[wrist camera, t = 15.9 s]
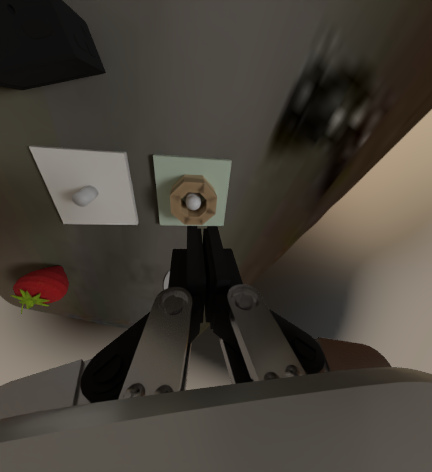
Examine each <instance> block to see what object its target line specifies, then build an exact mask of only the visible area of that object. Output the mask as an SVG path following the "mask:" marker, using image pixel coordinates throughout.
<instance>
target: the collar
mask: <svg viewBox="0 0 432 472" xmlns="http://www.w3.org/2000/svg"><path fill="white" fill-rule="evenodd" d="M188 192H191V193H200V194H201V195H202V196H203V197H204V198H205V201H203V202H202V203H201V205H200V207H199V208H198V209H197V210H190V209H189V208H188V207H187V206H186V203H185V202H184V201H183V200H182V198H183V197H184V196H185V195H186V194H187V193H188ZM216 204H217V195H216V192H215V189H214V188H213V186H212V185H211V184H210V183H209V182H208V181H207V180H206V179H205V177H204V176H203V175H188V174H184V175H183V176H182V177H181V178H180V179H179V180H178V181H177V182H176V183H175V184H174V185H173V186H172V189H171V193H170V205H171V214H173V215H174V216H175V217H176V218H177V219H178V220H180V221H181V222H182V223H183V224H184V225H203V224H204V223H205V222H206V221H208V220H209V219H210V218H211V217H213V216H214V215H215V214H216Z"/></svg>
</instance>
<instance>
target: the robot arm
mask: <svg viewBox="0 0 432 472" xmlns="http://www.w3.org/2000/svg"><path fill="white" fill-rule="evenodd" d="M204 305H205V317H206V322H210V328H211V329H213V332H214V333H215V334H216V335H218V336H219V337H220V343H221V347H222V350H223V354H224V358H225V361H226V365H227V368H228V372H229V375H230V379H231V382H232V384H231V385H223V386H217V387H209V388H200V389H194V390H185V389H186V381H187V374H188V365H189V359H190V351H191V342H192V341H193V340H194V339H195V338H196V336H197V335H198V334H199V331H200V323H203V314H204ZM0 472H432V374H429V373H425V372H422V371H418V370H413V369H407V368H397V367H391V366H390V364H389V363H388V361H387V360H386V359H385V357H384V356H382V355H381V354H380V353H379V352H378V351H377V350H375V349H373V348H372V347H370V346H367V345H364V344H359V343H352V342H346V341H340V340H333V339H328V338H322V337H318V338H317V339H314V338H312V337H311V336H310V335H308V334H307V333H306V332H304V331H302V330H301V329H299V328H298V327H296V326H295V325H293V324H292V323H290V322H288V321H287V320H285V319H284V318H282V317H281V316H279V315H277V314H276V313H274V312H273V311H271V310H270V309H268V307H267V305H266V303H265V301H264V300H263V298H262V296H261V295H260V293H259V292H258V291H257V290H256V289H255V288H253V287H251V286H249V285H245V284H243V283H242V280H241V277H240V274H239V270H238V267H237V264H236V261H235V258H234V255H233V252H232V249H223V247H222V243H221V239H220V235H219V231H218V227H217V226H207V229H204V231H203V244H202V234H201V229H197V226H187V249H173V252H172V260H171V268H170V276H169V284H168V288H167V289H165V290H163V291H161V292H160V293H159V294H158V295H157V297H156V299H155V300H154V303H153V306H152V309H151V311H150V312H149V313H148V314H147V315H145V316H144V317H143V318H142V319H140V320H139V321H138V322H137V323H135V324H134V325H133V326H131V327H130V328H129V329H128V330H127V331H125V332H124V333H123V334H121V335H120V336H119V337H118V338H116V339H115V340H114V341H113V342H111V343H110V344H109V345H108V346H106V347H105V348H104V349H103V350H101V351H100V352H99V353H98V354H97V355H96V356H94V357H93V359H90V360H87V361H83V360H78V361H75V362H71V363H69V364H65V365H62V366H59V367H56V368H52V369H49V370H46V371H43V372H40V373H36V374H33V375H30V376H27V377H24V378H21V379H17V380H14V381H11V382H9V383H6V384H4V385H2V386H0Z"/></svg>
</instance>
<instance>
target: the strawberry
mask: <svg viewBox="0 0 432 472" xmlns="http://www.w3.org/2000/svg"><path fill="white" fill-rule="evenodd" d="M68 286H69V282H68V279H67V275H66V274H65V272H64V269H63V267H61V266H53V267H48V268H43V269H40V270H36V271H33V272H30V273H28V274H26V275H25V276H23V277H21V278H19V279H18V280H17V282H16V283H15V285H14V286H13V290H14V292H15V294H16V296H15V295H11V296H13V297H15V298H17V299H19V300H22V301H20V302H19V303H23V304H26V305H27V309H29V308H31V307H32V306H33V305H34V304H38V305H44V306H49V305H46V304H47V303H52V302H55V301H58V300H60V299H61V298H62V297H63V296H64V295H65V294H66V293H67V290H68ZM23 304H22V309H23ZM21 314H22V310H21Z"/></svg>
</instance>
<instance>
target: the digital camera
mask: <svg viewBox="0 0 432 472" xmlns="http://www.w3.org/2000/svg"><path fill="white" fill-rule="evenodd" d="M81 27H83V28H81ZM83 29H84V30H83ZM84 31H85V32H84ZM103 73H106V72H105V69H104V67H103V64H102V62H101V59H100V57H99V54H98V52H97V49H96V47H95V44H94V42H93V39H92V37H91V34H90V31H89V29H88V26H87V24H86V22H85V21H84V20H83V19H82V18H81V17H80V16H79V15H78V14H76V13H75V12H74V11H73V10H72V9H71V8H70V7H69V6H68V5H67V4H66V3H65V2H63V1H62V0H0V86H1V87H7V88H13V89H20V90H26V89H30V88H35V87H40V86H45V85H50V84H55V83H60V82H64V81H69V80H74V79H79V78H84V77H89V76H93V75H98V74H103Z"/></svg>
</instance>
